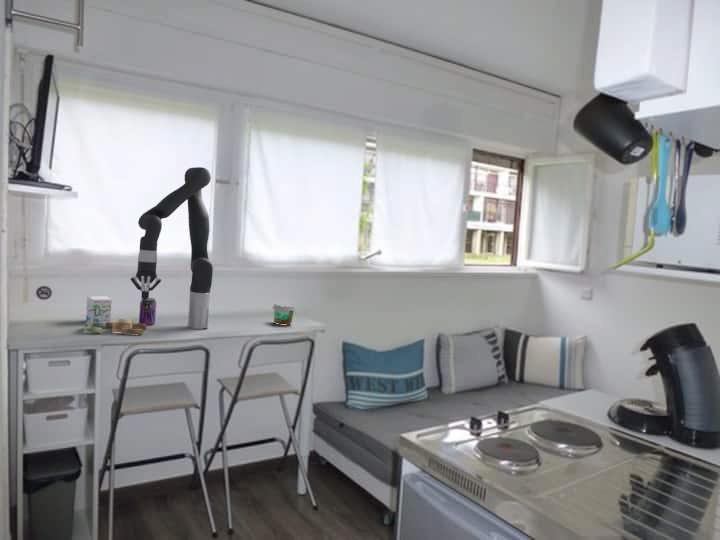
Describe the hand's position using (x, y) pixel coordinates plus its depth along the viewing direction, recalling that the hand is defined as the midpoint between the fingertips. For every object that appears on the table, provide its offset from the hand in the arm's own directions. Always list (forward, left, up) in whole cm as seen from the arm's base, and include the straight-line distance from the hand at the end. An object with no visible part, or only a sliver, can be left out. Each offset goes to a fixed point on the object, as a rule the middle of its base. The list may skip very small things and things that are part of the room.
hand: (144, 299), depth 231 cm
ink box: (+21, -17, -15) cm, 31 cm away
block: (+8, 0, -15) cm, 17 cm away
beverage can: (0, -17, -15) cm, 23 cm away
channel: (+11, 0, -15) cm, 18 cm away
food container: (-64, -28, -15) cm, 71 cm away
